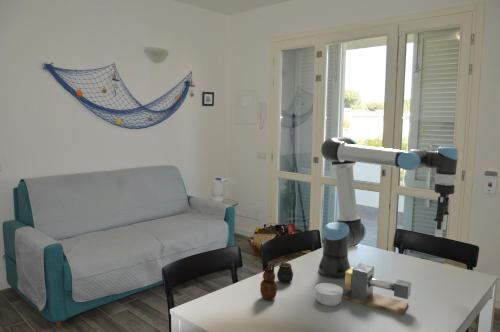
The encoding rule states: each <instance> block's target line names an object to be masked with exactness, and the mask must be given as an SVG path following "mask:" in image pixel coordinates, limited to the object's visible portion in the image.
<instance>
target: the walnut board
mask: <svg viewBox="0 0 500 332" xmlns="http://www.w3.org/2000/svg"><path fill="white" fill-rule="evenodd" d="M342 289H345V286H344V287H342ZM341 300H346V301H350V302H354V303H356V304H360V305H364V306H367V307H368V306H369V307H371V308H374V309H377V310H378V309H379V310H382V311H386V312H390V313H392V314H393V313H394V314H397V315H400V316H403V314H404V312H405V311H406V310H407V308H408V307H409V301H405V300H401V299H397V298H393V297H389V296H387V295H386V296H385V295H381V294H378V293H374V292H373V294H372V295H371V296H370V297H369V298H368V300H367V301H362V300H358V299H355V298H351V297H347V296H344V295H342V298H341Z"/></svg>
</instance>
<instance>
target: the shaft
mask: <svg viewBox="0 0 500 332" xmlns="http://www.w3.org/2000/svg"><path fill="white" fill-rule="evenodd" d="M368 285H371V286H373V287H375V288H379V289H383V290H388V291H391V292H393V297H397V298H399V299H400V298H401V299H404V300H409V297H410V296H411V291H412V281H411V282H410V281H406V280H402V279H397V280H396V281H395V282H391V281H387V280H382V279H378V278H370V277H369V284H368Z"/></svg>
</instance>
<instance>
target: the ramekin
mask: <svg viewBox="0 0 500 332" xmlns="http://www.w3.org/2000/svg"><path fill="white" fill-rule="evenodd" d="M314 291H315V296H316V297H315V298H316V300H317V302H318V303H320V304H321V305H324V306H329V307H333V306H334V307H335V306H338V305H339V304H340V303H341V302H342V294H343V287H341V286H340V285H338V284H335V283H331V282H321V283H318V284H316V285H315V287H314Z"/></svg>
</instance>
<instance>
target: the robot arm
mask: <svg viewBox="0 0 500 332" xmlns="http://www.w3.org/2000/svg"><path fill="white" fill-rule="evenodd" d="M320 147H321V148H320V152H321V155H322V158H324V159H325V160H326V161H328V162H331V166H333V168H334V169H335V170H334V171H335V179H336V189H337V201H338V212H339V216H338V217H337V218H336V221H335V222H333V221H332V222H328V223H327V224H325V226H324V227H323V231H322V232H323V246H322V249H323V250H322V257H321V260H320V262H319V263H318V264H319V265H318V273H319V274H320V275H322V276H325V277H327V278H333V279H343V278H344V279H345V272H346V271H347V270H348V269H350V268H351V265H350V261H349V258H348V257H349V248H350V247H352V246H354V245H358V244H359V243H361V242H362V241H363V240H364V239H365V237H366V234H367V231H366V230H367V229H366V227H365V224H363V222H362V221H361V216H359V215H358V211H357V199H356V187H355V177H354V166H355V164H356V163H363V164H368V165H369V164H370V165H377V166H385V167H391V168H399V169H402V170H403V171H414V170H417V169H421V168H426V169H427V168H428V169H435V170H436V171H435V177H434V182H435V184H434V192H435V193H436V194H439V196H438V197H437V205H436V206H437V208H436V215H435V218H434V219H433V222H435V225H434V226H435V229H434V237H436V238H437V237H438V238H443V232H444V231H446V230H447V221H448V216H449V215H450V211H449V201H450V197H449V196H450V195H454V194H455V187H456V186H455V184H456V180H458V177H457V166H458V165H457V164H458V159H459V158H458V157H459V156H458V155H459V153H458V152H459V150H458V148H457V147H454V146H453V147H452V146H439V147H438V148H437V150H429V149H428V150H426V149H419V148H416V149H412V148H411V149H410V150H404V149H395V148H394V149H393V148H387V147H385V148H384V147H379V146H378V147H377V146H369V145H368V146H367V145H358V144H357V142H356V141H355V140H354V139H353V138H351V137H345V136H342V137H340V136H339V137H329V138H327V139H326V140H324V141H323V143H322V144H321V146H320Z"/></svg>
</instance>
